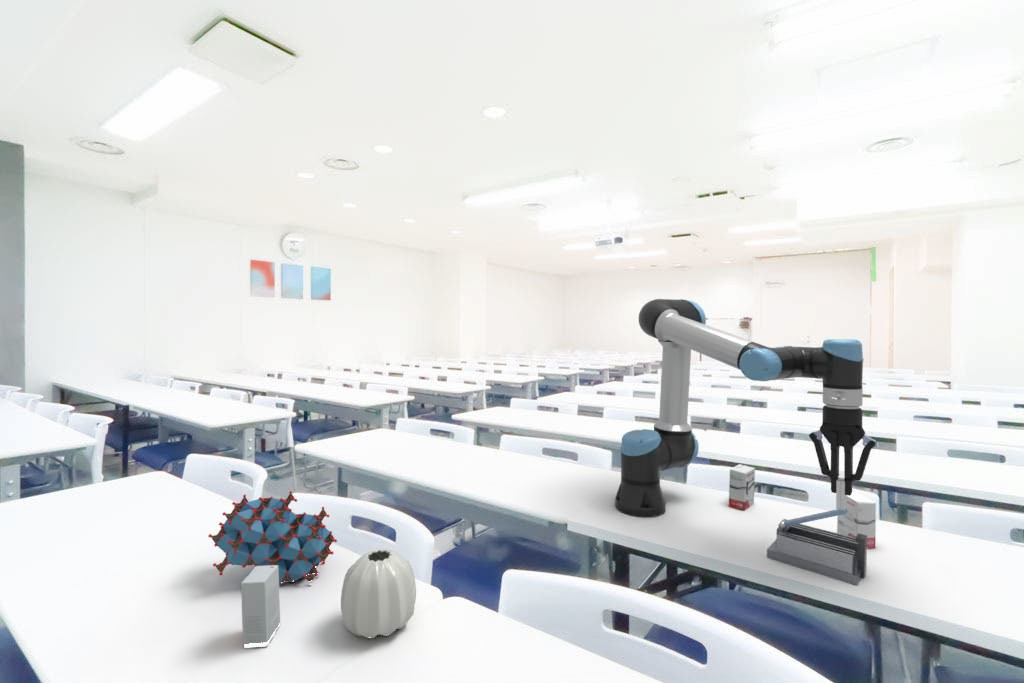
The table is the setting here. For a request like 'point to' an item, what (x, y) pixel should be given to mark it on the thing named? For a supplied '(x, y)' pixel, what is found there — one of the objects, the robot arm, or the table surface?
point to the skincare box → (260, 604)
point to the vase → (378, 594)
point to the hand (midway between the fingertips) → (841, 507)
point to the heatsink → (821, 552)
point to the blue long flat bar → (811, 518)
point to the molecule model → (274, 538)
